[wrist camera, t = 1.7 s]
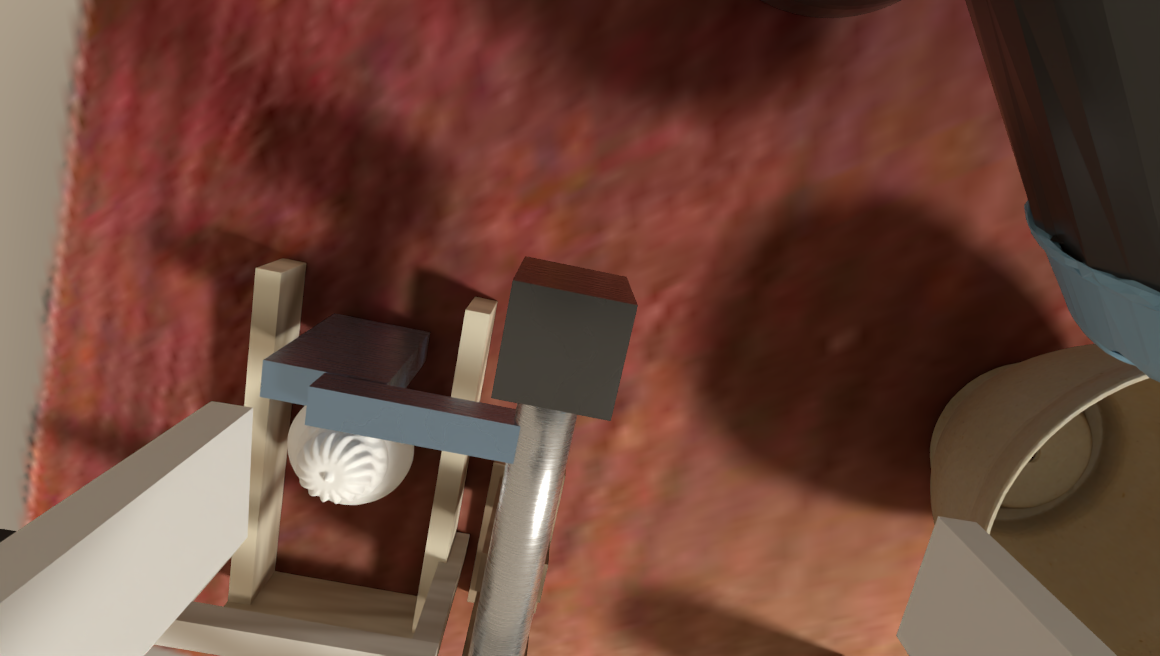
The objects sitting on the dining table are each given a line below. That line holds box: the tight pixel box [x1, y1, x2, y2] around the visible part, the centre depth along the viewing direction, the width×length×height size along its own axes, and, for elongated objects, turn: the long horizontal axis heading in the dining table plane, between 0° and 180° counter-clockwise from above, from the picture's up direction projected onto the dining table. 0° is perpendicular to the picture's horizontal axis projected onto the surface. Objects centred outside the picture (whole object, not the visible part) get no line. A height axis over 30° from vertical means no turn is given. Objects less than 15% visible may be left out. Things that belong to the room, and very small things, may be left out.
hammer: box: [260, 256, 638, 656], centre depth 29 cm, size 21×14×13 cm, turn 168°
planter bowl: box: [930, 344, 1160, 656], centre depth 31 cm, size 16×16×11 cm
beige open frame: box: [155, 258, 498, 656], centre depth 32 cm, size 20×13×10 cm, turn 168°
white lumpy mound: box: [287, 406, 414, 505], centre depth 33 cm, size 6×6×7 cm
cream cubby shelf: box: [462, 460, 566, 656], centre depth 34 cm, size 9×4×8 cm, turn 168°
